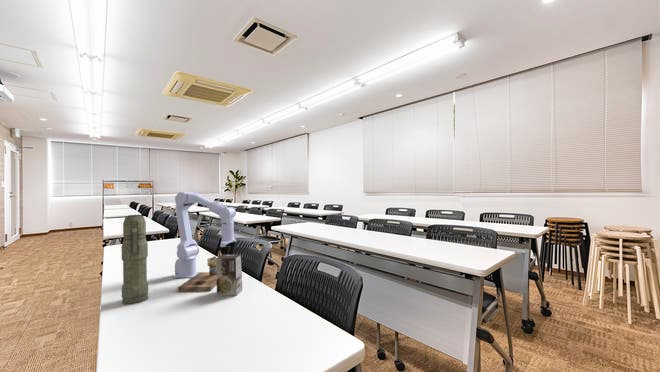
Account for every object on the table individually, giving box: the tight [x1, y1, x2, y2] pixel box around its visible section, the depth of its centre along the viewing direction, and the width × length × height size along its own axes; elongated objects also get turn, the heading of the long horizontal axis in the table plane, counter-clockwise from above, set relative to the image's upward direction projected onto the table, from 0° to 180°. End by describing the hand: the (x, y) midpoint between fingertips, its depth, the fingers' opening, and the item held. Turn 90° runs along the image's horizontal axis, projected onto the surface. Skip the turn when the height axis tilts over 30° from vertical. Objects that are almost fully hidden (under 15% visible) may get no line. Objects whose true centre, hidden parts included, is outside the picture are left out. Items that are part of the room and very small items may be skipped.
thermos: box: [120, 214, 149, 306], centre depth 112 cm, size 9×12×35 cm
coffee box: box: [216, 254, 243, 297], centre depth 119 cm, size 9×6×16 cm
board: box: [177, 271, 217, 293], centre depth 132 cm, size 14×21×2 cm, turn 1°
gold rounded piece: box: [206, 256, 217, 276], centre depth 137 cm, size 5×5×9 cm
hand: (228, 258), depth 138 cm, fingers open, 7 cm apart
